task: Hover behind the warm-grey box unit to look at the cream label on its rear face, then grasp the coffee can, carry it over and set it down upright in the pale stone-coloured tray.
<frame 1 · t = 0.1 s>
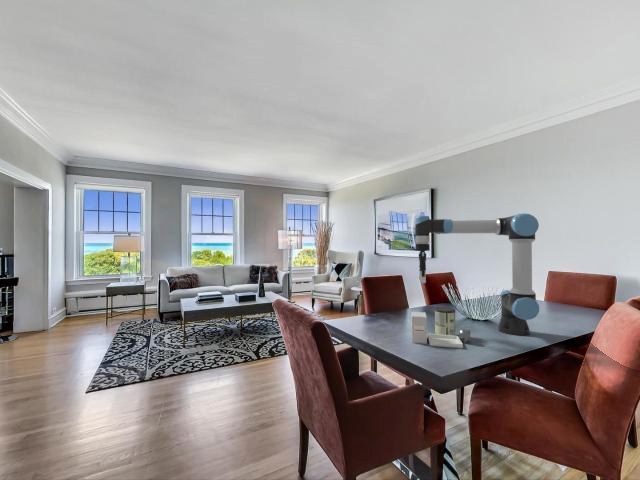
hand: (422, 281, 176), 28 cm above the table, fingers open, 13 cm apart
unit: (418, 339, 160), on the table
coffee can: (445, 335, 169), on the table
tray: (444, 342, 156), on the table
cartridge: (464, 342, 156), on the table
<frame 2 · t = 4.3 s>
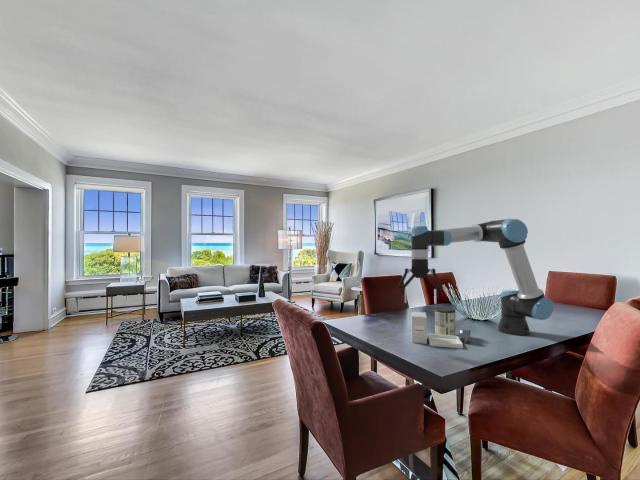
hand: (420, 303, 150), 21 cm above the table, fingers open, 13 cm apart
nothing on the table moved.
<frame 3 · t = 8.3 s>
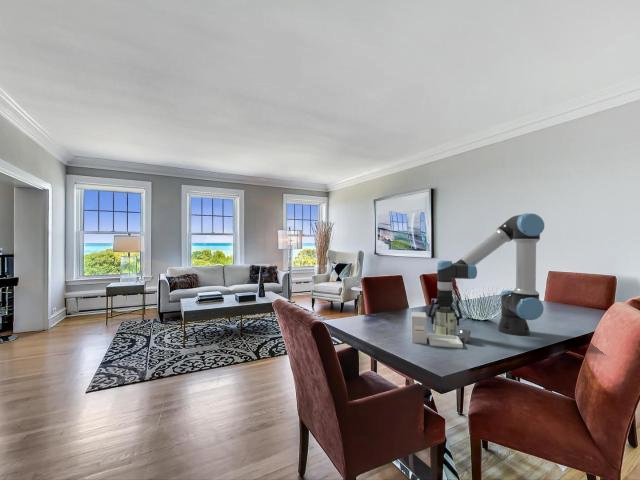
hand: (445, 330, 169), 2 cm above the table, fingers closed on coffee can, 10 cm apart
coffee can: (444, 335, 169), on the table, touching gripper
everything else where it was.
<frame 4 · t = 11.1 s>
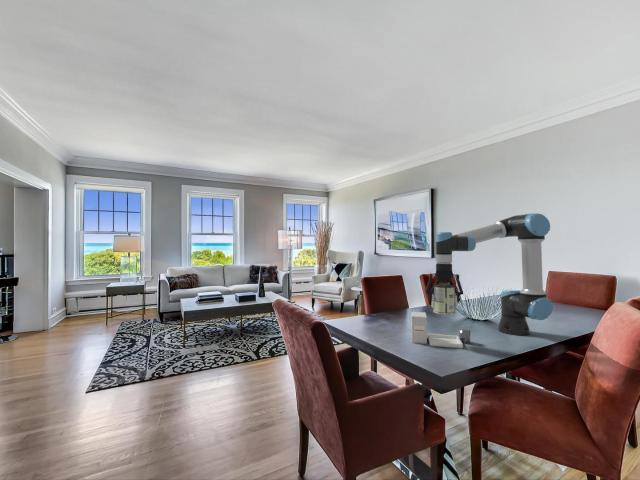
hand: (444, 307, 156), 17 cm above the table, fingers closed on coffee can, 10 cm apart
coffee can: (444, 312, 156), point 15 cm above the table, touching gripper
everything else where it was.
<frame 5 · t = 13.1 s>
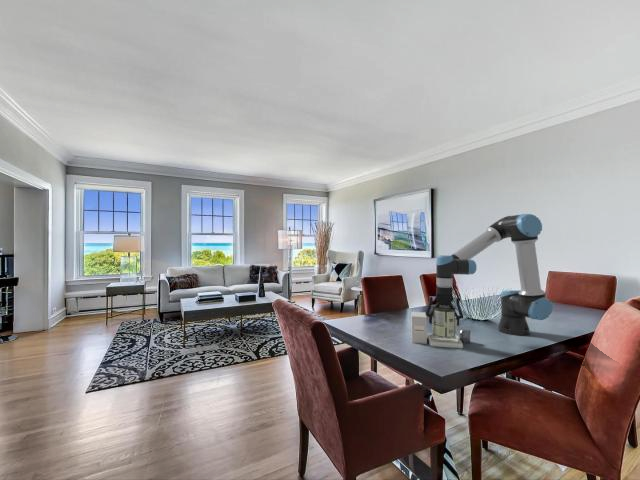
hand: (443, 331, 156), 6 cm above the table, fingers closed on coffee can, 10 cm apart
coffee can: (443, 336, 156), point 3 cm above the table, touching gripper
everything else where it was.
when the fingers open (6 cm above the table, at t = 13.9 s): coffee can drops 3 cm, resting on tray.
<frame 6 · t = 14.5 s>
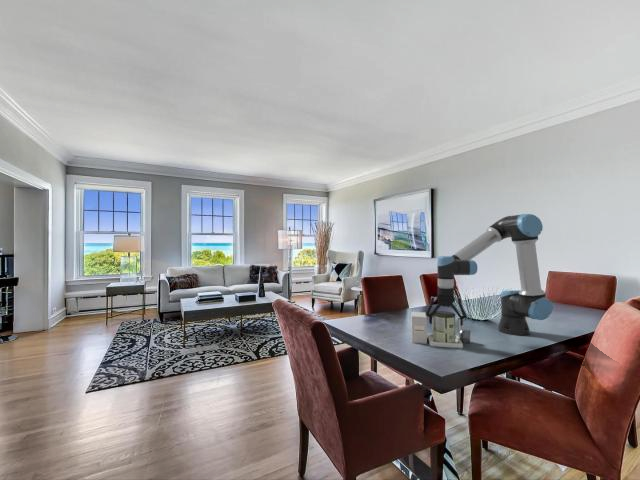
hand: (445, 331, 155), 6 cm above the table, fingers open, 12 cm apart
coffee can: (444, 342, 156), resting on tray
everything else where it was.
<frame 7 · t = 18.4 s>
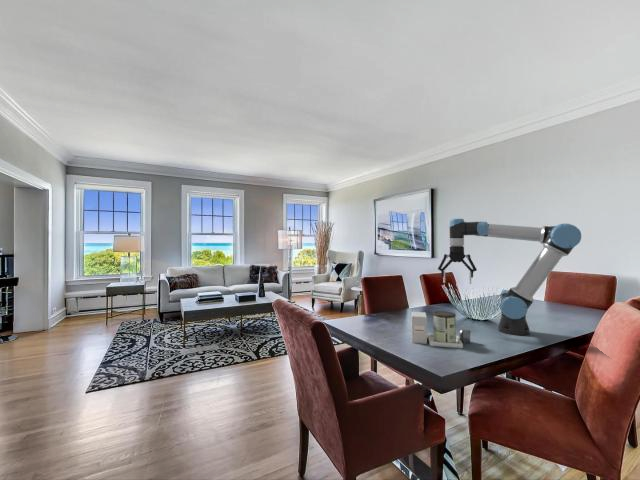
hand: (457, 283, 179), 27 cm above the table, fingers open, 13 cm apart
nothing on the table moved.
at the end: coffee can inside the target area on the tray (0.1 cm from its centre), point 0.3 cm above the tray's base; coffee can tilted 0°; the gripper is holding nothing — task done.
